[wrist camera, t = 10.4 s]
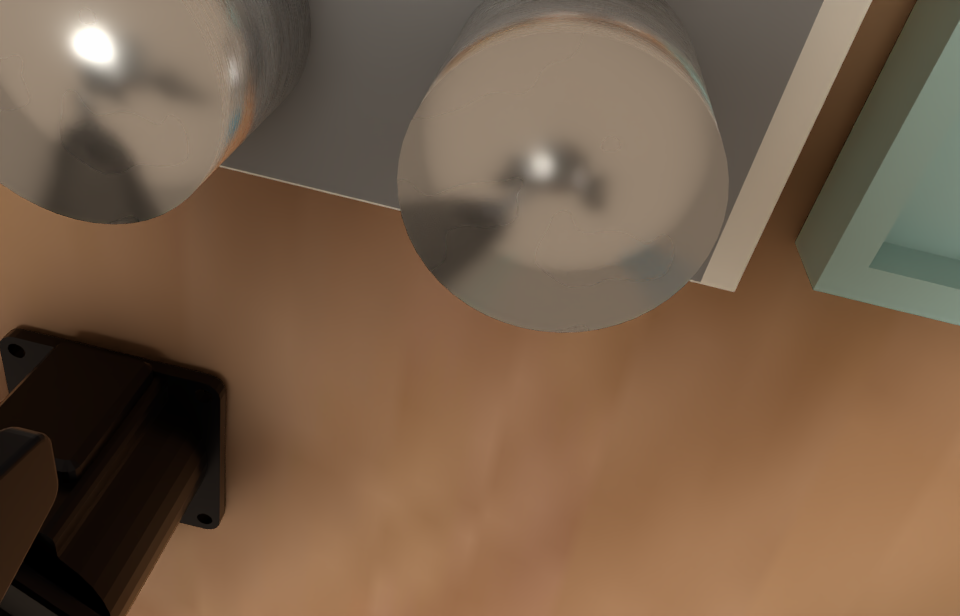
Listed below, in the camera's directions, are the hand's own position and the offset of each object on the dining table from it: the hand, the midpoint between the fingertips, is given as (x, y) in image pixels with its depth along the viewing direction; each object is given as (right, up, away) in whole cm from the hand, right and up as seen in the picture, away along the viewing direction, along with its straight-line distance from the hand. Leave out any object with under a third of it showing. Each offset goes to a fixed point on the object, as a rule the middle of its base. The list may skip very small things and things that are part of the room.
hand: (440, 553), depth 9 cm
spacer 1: (-5, +8, +5) cm, 11 cm away
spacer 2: (+2, +6, +5) cm, 9 cm away
